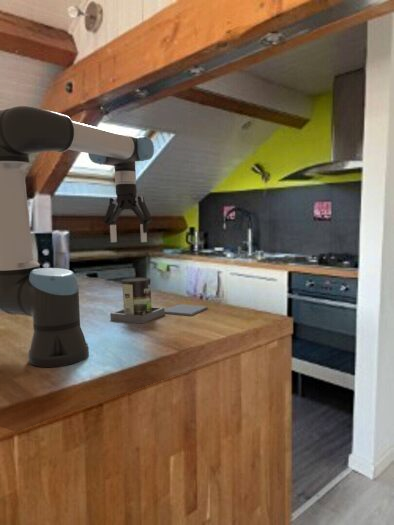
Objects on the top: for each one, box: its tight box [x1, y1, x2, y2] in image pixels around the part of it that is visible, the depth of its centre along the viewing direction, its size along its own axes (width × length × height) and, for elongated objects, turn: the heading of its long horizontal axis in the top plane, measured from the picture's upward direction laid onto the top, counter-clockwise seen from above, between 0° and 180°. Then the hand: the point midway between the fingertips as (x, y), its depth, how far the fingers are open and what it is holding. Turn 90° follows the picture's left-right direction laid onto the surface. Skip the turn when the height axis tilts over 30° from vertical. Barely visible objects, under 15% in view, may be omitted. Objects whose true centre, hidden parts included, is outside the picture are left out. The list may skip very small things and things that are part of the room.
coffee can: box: [121, 276, 153, 315], centre depth 154 cm, size 10×10×14 cm
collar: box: [109, 306, 165, 324], centre depth 155 cm, size 14×14×2 cm
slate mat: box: [164, 303, 208, 317], centre depth 163 cm, size 13×13×1 cm
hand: (128, 242), depth 157 cm, fingers open, 13 cm apart
